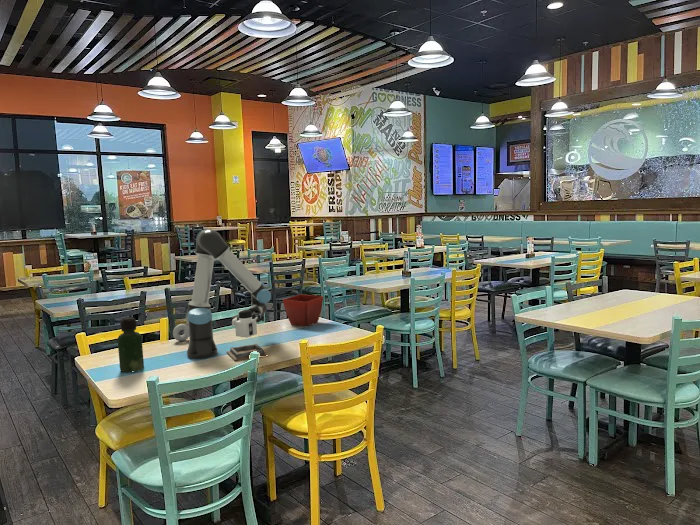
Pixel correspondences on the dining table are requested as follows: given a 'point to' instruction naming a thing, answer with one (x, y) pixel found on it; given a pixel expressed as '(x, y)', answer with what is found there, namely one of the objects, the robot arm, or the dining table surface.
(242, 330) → the container
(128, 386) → the dining table surface
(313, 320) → the plant pot
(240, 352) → the plate
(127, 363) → the dark green bottle
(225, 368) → the dining table surface
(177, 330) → the donut
